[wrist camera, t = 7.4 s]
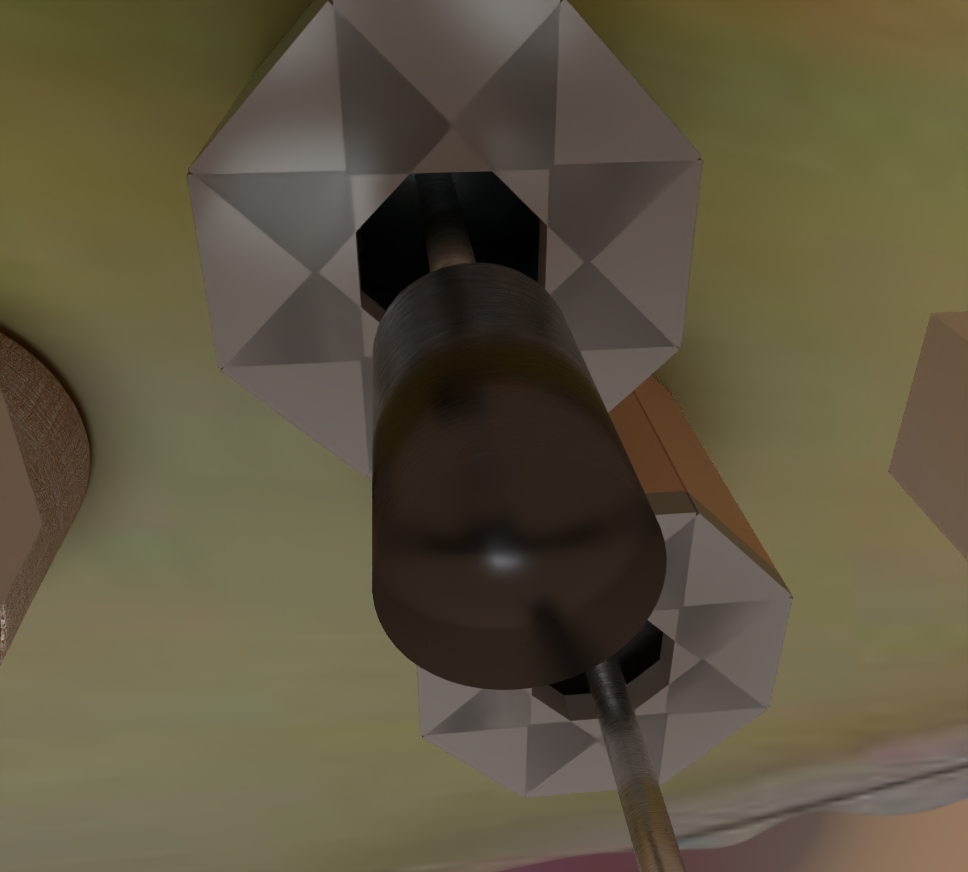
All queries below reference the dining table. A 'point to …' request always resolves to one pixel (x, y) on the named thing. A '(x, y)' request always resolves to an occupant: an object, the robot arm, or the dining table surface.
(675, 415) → the pot terracotta
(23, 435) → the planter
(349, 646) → the dining table surface
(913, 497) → the robot arm
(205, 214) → the pot teal
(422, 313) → the dark brown cylinder-topped rod
